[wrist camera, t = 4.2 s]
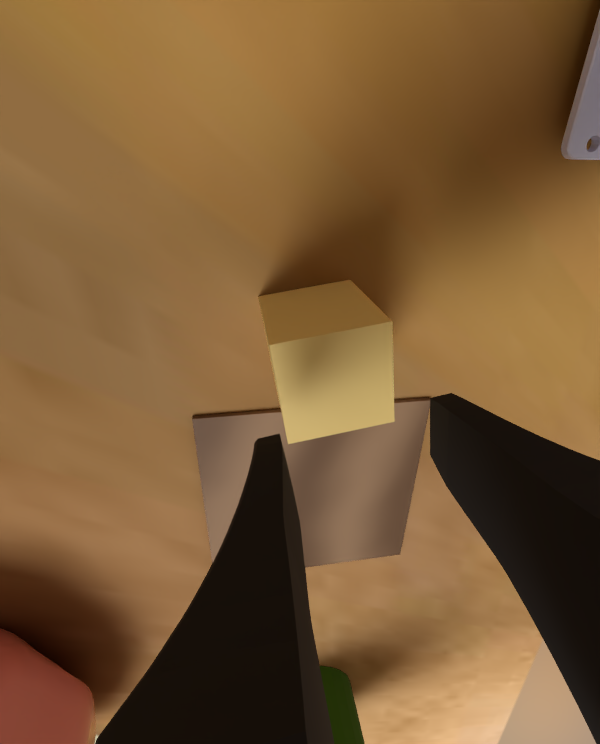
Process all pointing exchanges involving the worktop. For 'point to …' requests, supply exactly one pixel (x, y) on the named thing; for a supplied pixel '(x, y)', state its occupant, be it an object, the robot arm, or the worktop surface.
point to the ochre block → (329, 359)
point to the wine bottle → (341, 707)
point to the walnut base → (320, 479)
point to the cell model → (41, 698)
